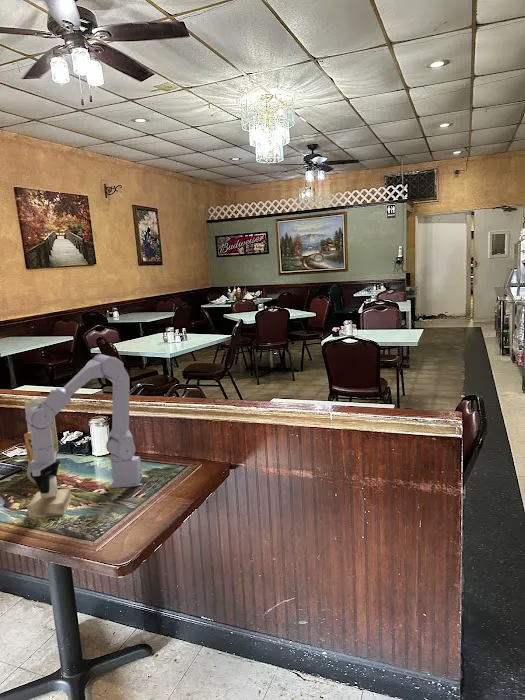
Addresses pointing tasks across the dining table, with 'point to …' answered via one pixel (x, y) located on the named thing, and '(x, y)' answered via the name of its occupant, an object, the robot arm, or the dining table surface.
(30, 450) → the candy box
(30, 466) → the donut
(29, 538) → the dining table surface
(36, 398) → the juice carton
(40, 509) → the block
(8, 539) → the dining table surface
